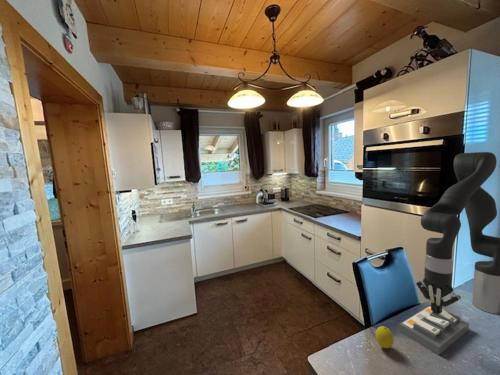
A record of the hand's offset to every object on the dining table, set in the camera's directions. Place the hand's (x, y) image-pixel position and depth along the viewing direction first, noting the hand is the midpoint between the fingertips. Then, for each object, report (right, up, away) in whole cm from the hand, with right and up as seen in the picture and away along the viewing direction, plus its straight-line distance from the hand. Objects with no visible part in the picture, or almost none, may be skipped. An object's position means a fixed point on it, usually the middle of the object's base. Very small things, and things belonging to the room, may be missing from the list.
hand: (436, 312), depth 80 cm
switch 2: (+11, -6, +9) cm, 16 cm away
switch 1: (-1, -7, +3) cm, 8 cm away
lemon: (-19, -13, 0) cm, 23 cm away
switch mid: (+5, -7, +6) cm, 10 cm away
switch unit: (+5, -11, +7) cm, 14 cm away
